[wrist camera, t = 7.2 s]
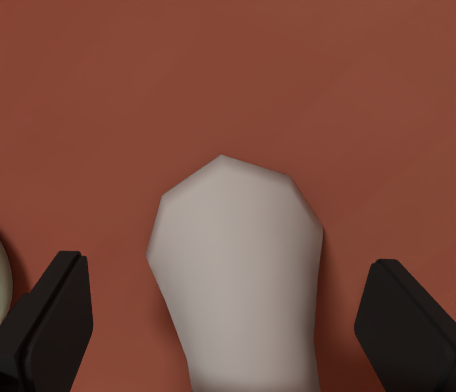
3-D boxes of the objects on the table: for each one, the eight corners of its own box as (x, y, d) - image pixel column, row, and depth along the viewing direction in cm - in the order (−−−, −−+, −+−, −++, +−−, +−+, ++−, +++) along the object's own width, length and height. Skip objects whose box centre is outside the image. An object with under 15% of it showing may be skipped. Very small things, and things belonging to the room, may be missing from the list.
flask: (247, 327, 17) (296, 654, 8) (117, 255, 15) (-26, 578, 6) (350, 219, 15) (580, 486, 6) (215, 120, 13) (237, 283, 4)
